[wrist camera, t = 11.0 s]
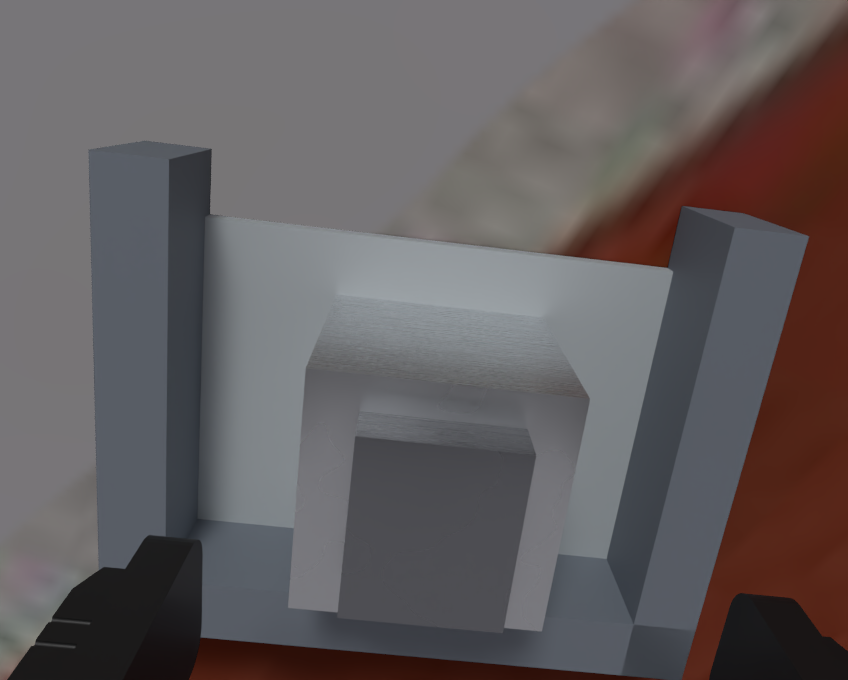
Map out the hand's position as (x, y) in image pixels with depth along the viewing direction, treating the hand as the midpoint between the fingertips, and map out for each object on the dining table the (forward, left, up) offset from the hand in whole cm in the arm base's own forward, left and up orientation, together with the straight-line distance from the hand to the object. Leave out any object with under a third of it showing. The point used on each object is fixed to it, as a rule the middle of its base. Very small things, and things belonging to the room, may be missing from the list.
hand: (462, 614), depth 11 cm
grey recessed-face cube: (0, 0, -8) cm, 8 cm away
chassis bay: (+1, 0, -8) cm, 8 cm away
